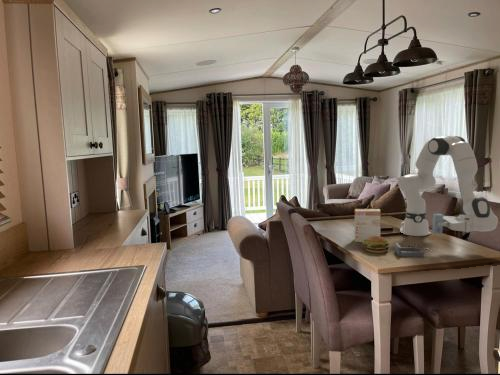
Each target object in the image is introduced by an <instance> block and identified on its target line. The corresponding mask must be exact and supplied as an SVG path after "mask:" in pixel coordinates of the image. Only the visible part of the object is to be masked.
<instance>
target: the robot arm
mask: <svg viewBox="0 0 500 375" xmlns="http://www.w3.org/2000/svg"><path fill="white" fill-rule="evenodd" d="M441 156H450V157H451V159H452V162H453V163H452V164H453V167H454V170H455V173H456V177H457V181H458V187H459V192H460V197H461V208H460V209H461V210H460V211H461V214H459V215H458V216H450V215H443V222H437V225H438V226H443V227H447V228H448V229H450V230H452V231H456V232H457V231H458V232H463V233H470V232H474V231H475V232H491V231H494V230H496V228H497V227H498V225H499V219H498V216H497V215H496V214H495V213H494V212H493V210H492V208H491V203H490V201H489V200H488V199H486V198H485V197H484V196H483V197H482V196H478V197H475V193H474V190H473V180H474V178H475V177H476V175H477V172H478V169H479V168H478V162H477V159H476V156H475V153H474V151H473V148H472V147H471V145H470V143H469V142H468V141H466V140H465V138H463V137H462V136H459V135H458V136H457V135H455V136H454V135H445V136H435V137H433V138H431V139H428V140H426V143H424V145H423V147H422V149H421V150H420V153H419V154H418V157H417V158H416V162H415V168H416V169H417V170H418V171H417V172H416V173H414V174H413V173H412V174H405V175H403V176H400V177H399V178H398V180H397V186H398V188H399V189H400V191H402V192H403V194H404V196H405V198H406V212H405V218H404V220H403V221H402V222H401V223H400V226H401V227H399V233H400V232H401V233H403V234H402V235H407V236H411V237H412V236H414V237H425V236H427V235H431V234H432V231H429V230H430V228H429V221H428V220H427V212H426V207H427V206H426V205H427V204H426V202H427V201H426V200H425V198H423V197H422V196H421V193H420V192H422V191H429V190H431V189H434V188H435V185H436V182H437V181H436V178H435V176H434V170H435V167H436V165H437V163H438V161H439V159H440V157H441Z"/></svg>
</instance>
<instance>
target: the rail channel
mask: <svg viewBox="0 0 500 375" xmlns="http://www.w3.org/2000/svg"><path fill="white" fill-rule="evenodd" d="M394 252H395V254H396V255H397V256H398V257H400V258H401V257H403V258H407V257H408V258H424V257H425V251H421V248H420V247H407V246H406V247H401V245H400V244H399V242H395V243H394Z"/></svg>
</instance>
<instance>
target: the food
mask: <svg viewBox="0 0 500 375" xmlns="http://www.w3.org/2000/svg"><path fill="white" fill-rule="evenodd" d="M361 244H363V245H364V248H365V251H367V252H369V253H374V254H383V253H387V251H388V250H389V246H390V243H389V242H388V240H387V239H386V238H385V237H383V236H381V235H380V236H371V237H369V238H367V239H366V240H364V242H361Z"/></svg>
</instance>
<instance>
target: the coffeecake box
mask: <svg viewBox="0 0 500 375" xmlns="http://www.w3.org/2000/svg"><path fill="white" fill-rule="evenodd" d="M371 236H380V237H381V209H380V208H377V209H375V208H355V209H354V243H355V242H356V243H362V242H364V240H366V239H367V238H369V237H371Z"/></svg>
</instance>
